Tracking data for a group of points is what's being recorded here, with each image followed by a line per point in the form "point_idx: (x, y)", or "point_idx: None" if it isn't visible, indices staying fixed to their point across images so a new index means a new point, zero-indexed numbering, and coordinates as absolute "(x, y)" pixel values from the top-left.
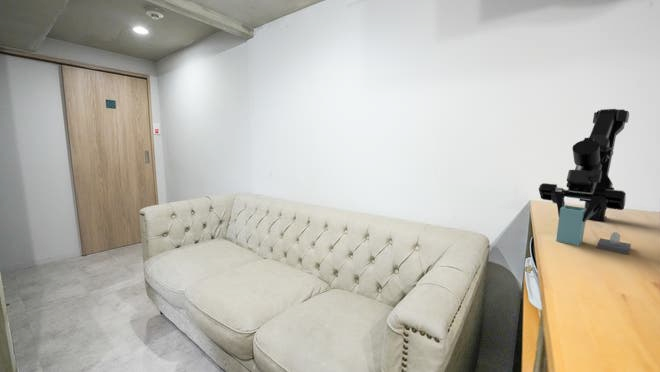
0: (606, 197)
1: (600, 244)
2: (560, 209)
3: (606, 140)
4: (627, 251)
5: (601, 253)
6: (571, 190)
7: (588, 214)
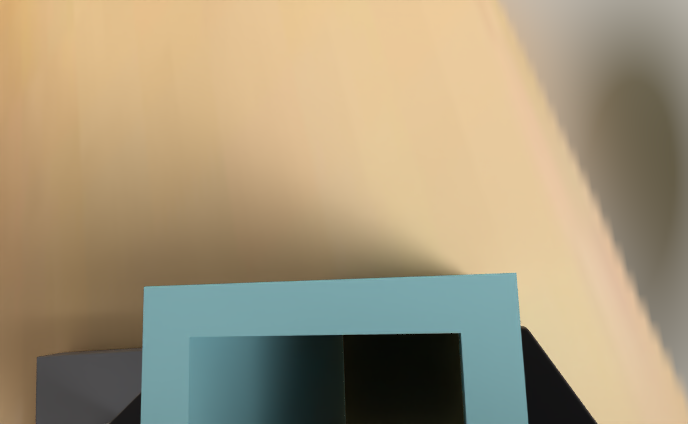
0: None
1: None
2: (507, 275)
3: None
4: (54, 354)
5: (186, 254)
6: None
7: (127, 405)
